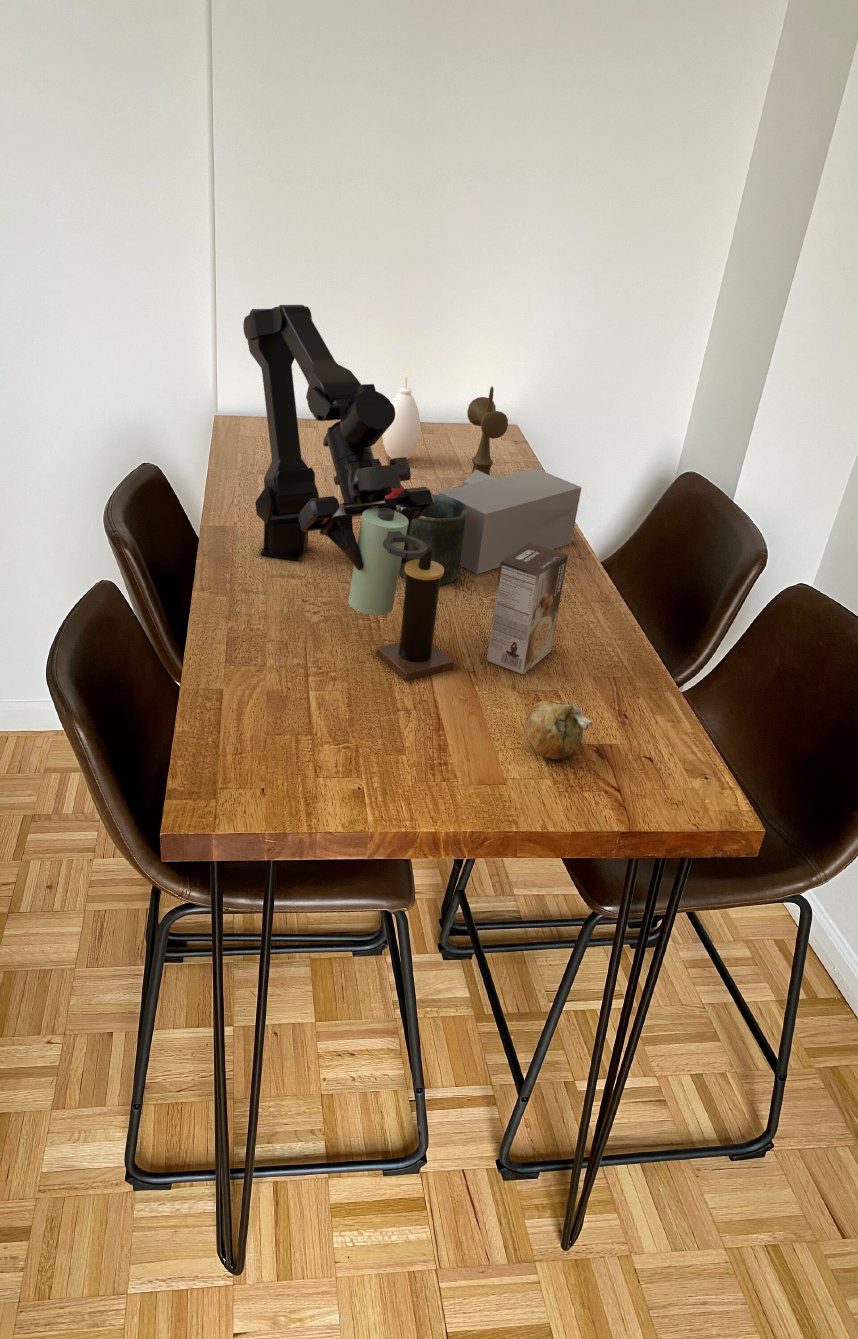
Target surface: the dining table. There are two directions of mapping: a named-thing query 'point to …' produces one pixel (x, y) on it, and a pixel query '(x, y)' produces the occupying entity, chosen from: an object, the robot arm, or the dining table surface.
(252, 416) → the dining table surface
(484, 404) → the kendama
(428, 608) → the black cylinder with base
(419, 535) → the mug
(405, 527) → the mint green lidded canister
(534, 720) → the onion
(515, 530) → the plain grey rectangular block
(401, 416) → the sauce bottle
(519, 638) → the coffee box
